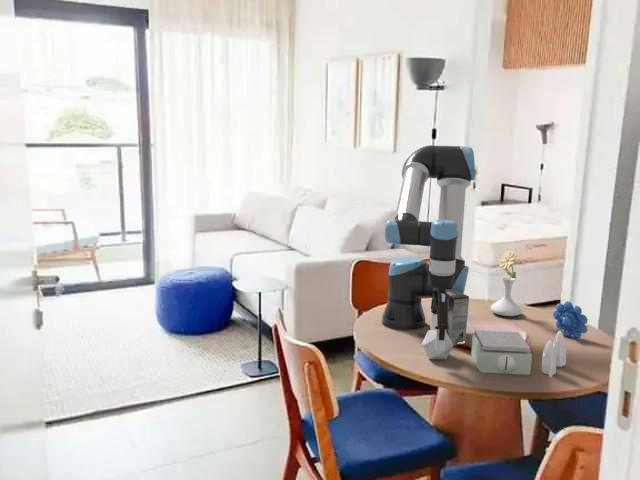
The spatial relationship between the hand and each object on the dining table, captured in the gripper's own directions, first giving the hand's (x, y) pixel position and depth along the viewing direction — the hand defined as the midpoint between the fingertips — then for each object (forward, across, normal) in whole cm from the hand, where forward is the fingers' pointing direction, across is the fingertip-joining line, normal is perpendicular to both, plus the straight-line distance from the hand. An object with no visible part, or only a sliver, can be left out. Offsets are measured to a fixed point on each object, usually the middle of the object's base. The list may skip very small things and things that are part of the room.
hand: (437, 342), depth 178 cm
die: (+5, 0, 0) cm, 5 cm away
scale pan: (-2, +3, +18) cm, 18 cm away
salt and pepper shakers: (+5, +5, +33) cm, 34 cm away
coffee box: (+5, -15, +6) cm, 17 cm away
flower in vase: (+4, -45, +31) cm, 55 cm away
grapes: (+5, -23, +46) cm, 52 cm away
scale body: (+5, +3, +18) cm, 19 cm away
